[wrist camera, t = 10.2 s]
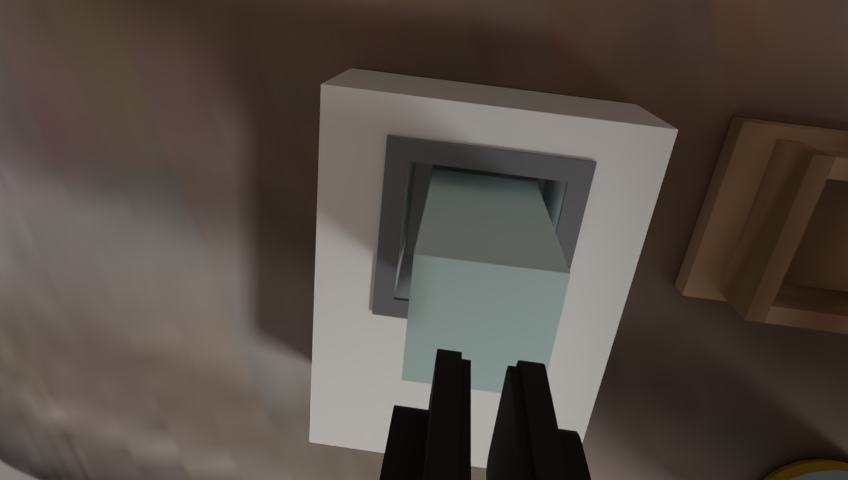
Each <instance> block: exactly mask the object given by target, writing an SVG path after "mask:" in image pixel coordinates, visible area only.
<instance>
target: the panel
mask: <svg viewBox="0 0 848 480" xmlns="http://www.w3.org/2000/svg"><path fill="white" fill-rule="evenodd" d="M677 133H678V129H676V128H675V127H673V126H671V125H670V124H668V123H666V122H665V121H663V120H661V119H660V118H658V117H656V116H655V115H653V114H651V113H650V112H648V111H646V110H645V109H643V108H641V107H640V106H638V105H636V104H630V103H623V102H615V101H607V100H599V99H591V98H583V97H575V96H567V95H559V94H551V93H544V92H536V91H528V90H520V89H512V88H504V87H496V86H488V85H480V84H472V83H465V82H457V81H449V80H441V79H433V78H425V77H417V76H409V75H401V74H393V73H385V72H378V71H370V70H362V69H354V68H350V69H349V70H347V71H345V72H343V73H341V74H339V75H337V76H335V77H333V78H332V79H330V80H328V81H326V82H324V83H322V84H321V98H320V129H319V160H318V191H317V222H316V253H315V284H314V315H313V346H312V377H311V408H310V439H309V442H312V443H319V444H326V445H333V446H340V447H346V448H353V449H360V450H367V451H374V452H381V453H385V449H386V443H387V438H388V433H389V428H390V423H391V417H392V412H393V408H394V405H398V406H405V407H412V408H419V409H426V410H428V407H429V400H430V393H431V387H432V384H427V383H419V382H412V381H404V380H401V378H402V368H403V358H404V347H405V337H406V327H407V317H408V307H409V297H410V287H411V277H412V267H413V257H414V251H415V247H416V242H417V238H418V234H419V229H420V225H421V221H422V216H423V212H424V208H425V203H426V199H427V194H428V190H429V186H430V181H431V172H432V166H433V164H434V165H442V166H449V167H457V168H464V169H472V170H480V171H487V172H495V173H503V174H510V175H518V176H525V177H533V178H537V179H538V187H539V190H540V192H541V195H542V198H543V201H544V203H545V206H546V209H547V211H548V214H549V217H550V219H551V222H552V225H553V227H554V230H555V233H556V236H557V238H558V241H559V244H560V246H561V249H562V252H563V254H564V257H565V260H566V262H567V265H568V268H569V271H570V273H571V274H570V279H569V283H568V287H567V291H566V296H565V300H564V304H563V308H562V313H561V317H560V321H559V325H558V330H557V334H556V338H555V342H554V347H553V351H552V355H551V359H550V364H549V368H548V372H547V376H548V381H549V386H550V391H551V395H552V400H553V405H554V410H555V415H556V420H557V424H558V429H565V430H572V431H577V433H578V434H579V436H580V439H581V442H582V443H583V439H584V436H585V433H586V430H587V426H588V423H589V420H590V416H591V413H592V410H593V407H594V403H595V400H596V397H597V394H598V390H599V387H600V384H601V381H602V377H603V374H604V371H605V368H606V364H607V361H608V358H609V354H610V351H611V348H612V345H613V341H614V338H615V335H616V332H617V328H618V325H619V322H620V319H621V315H622V312H623V309H624V306H625V302H626V299H627V296H628V292H629V289H630V286H631V283H632V279H633V276H634V273H635V270H636V266H637V263H638V260H639V257H640V253H641V250H642V247H643V244H644V240H645V237H646V234H647V230H648V227H649V224H650V221H651V217H652V214H653V211H654V208H655V204H656V201H657V198H658V195H659V191H660V188H661V185H662V182H663V178H664V175H665V172H666V168H667V165H668V162H669V159H670V155H671V152H672V149H673V146H674V142H675V139H676V136H677ZM500 398H501V393H495V392H488V391H480V390H473V389H471V466H476V467H483V468H487V459H488V454H489V449H490V445H491V440H492V435H493V431H494V426H495V421H496V417H497V412H498V407H499V403H500Z"/></svg>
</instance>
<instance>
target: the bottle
mask: <svg viewBox="0 0 848 480" xmlns="http://www.w3.org/2000/svg"><path fill="white" fill-rule="evenodd" d="M763 480H848V463H845V462H840V461H836V460H827V459H810V460H800V461H797V462H794V463H791V464H788V465H785V466H782V467H780V468H778V469H777V470H775V471H773V472H772V473H770V474H768V475H767V476H766V477H765V478H764V479H763Z"/></svg>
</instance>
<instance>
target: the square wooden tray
mask: <svg viewBox="0 0 848 480" xmlns="http://www.w3.org/2000/svg"><path fill="white" fill-rule="evenodd" d="M675 286H676V288H677V289H678V290H679V292H680V293H681V295H682V296H689V297H696V298H703V299H711V300H718V301H725V302H729V303H730V304H731V305H732V306H733V307H734V309H735V310H736V311H737V312H738V313H739V314H740V315H741V317H742V318H743V319H744V320H747V321H754V322H761V323H769V324H776V325H783V326H790V327H798V328H805V329H812V330H820V331H827V332H834V333H842V334H848V131H844V130H836V129H828V128H820V127H812V126H804V125H796V124H789V123H781V122H773V121H765V120H757V119H749V118H741V117H732V120H731V123H730V126H729V129H728V132H727V135H726V138H725V141H724V144H723V146H722V149H721V152H720V155H719V158H718V161H717V164H716V167H715V170H714V173H713V175H712V178H711V181H710V184H709V187H708V190H707V193H706V196H705V199H704V202H703V204H702V207H701V210H700V213H699V216H698V219H697V222H696V225H695V228H694V231H693V234H692V236H691V239H690V242H689V245H688V248H687V251H686V254H685V257H684V260H683V263H682V265H681V268H680V271H679V274H678V277H677V280H676V283H675Z"/></svg>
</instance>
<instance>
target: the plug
mask: <svg viewBox="0 0 848 480" xmlns="http://www.w3.org/2000/svg"><path fill="white" fill-rule="evenodd" d="M570 274H571V273H570V271H569V268H568V265H567V262H566V260H565V257H564V254H563V252H562V249H561V246H560V244H559V241H558V238H557V236H556V233H555V230H554V227H553V225H552V222H551V219H550V217H549V214H548V211H547V209H546V206H545V203H544V201H543V198H542V195H541V192H540V190H539V187H538V179H537V178H533V177H525V176H518V175H510V174H503V173H495V172H487V171H480V170H472V169H464V168H457V167H449V166H442V165H434V164H433V166H432V172H431V181H430V186H429V190H428V194H427V199H426V203H425V208H424V212H423V216H422V221H421V225H420V229H419V234H418V238H417V242H416V247H415V251H414V257H413V267H412V277H411V287H410V297H409V307H408V317H407V327H406V337H405V347H404V358H403V368H402V378H401V380H404V381H412V382H419V383H427V384H432V380H433V373H434V366H435V359H436V353H437V349H444V350H452V351H459V352H462V359H467V360H471V389H473V390H480V391H488V392H495V393H502V389H503V384H504V379H505V375H506V370H507V367H508V365H510V366H516V365H517V362H518V360H523V361H530V362H537V363H544V364H545V367H546V371H547V372H548V368H549V364H550V359H551V355H552V351H553V347H554V342H555V338H556V334H557V330H558V325H559V321H560V317H561V313H562V308H563V304H564V300H565V296H566V291H567V287H568V283H569V279H570Z"/></svg>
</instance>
